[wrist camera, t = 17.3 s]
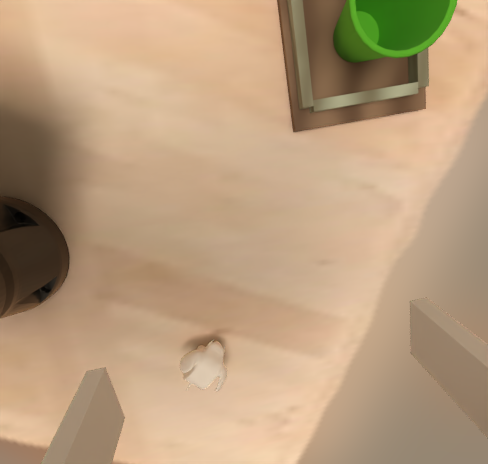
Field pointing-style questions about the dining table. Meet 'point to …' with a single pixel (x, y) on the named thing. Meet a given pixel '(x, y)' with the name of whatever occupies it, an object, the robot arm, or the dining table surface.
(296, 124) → the jig cradle
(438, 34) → the cup
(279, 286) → the dining table surface
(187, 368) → the elephant figurine
